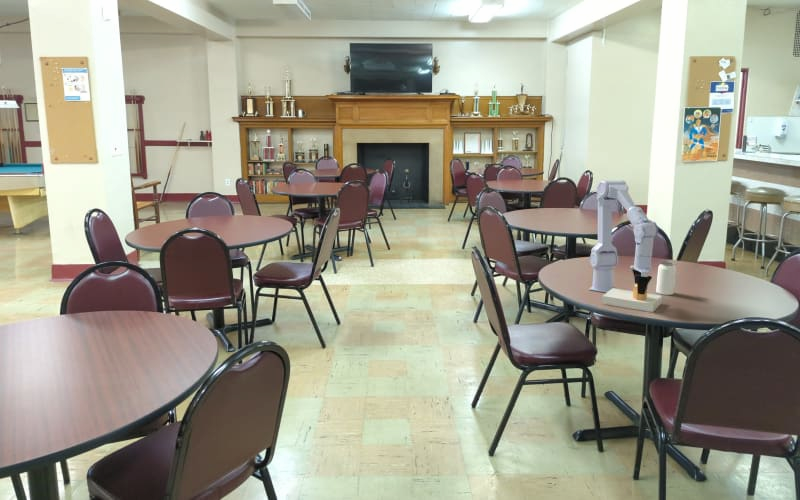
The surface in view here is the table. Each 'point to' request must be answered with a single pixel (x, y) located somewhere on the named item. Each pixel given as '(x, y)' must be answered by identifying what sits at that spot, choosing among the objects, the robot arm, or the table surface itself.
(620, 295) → the junction box
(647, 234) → the robot arm
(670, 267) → the can
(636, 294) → the cap
